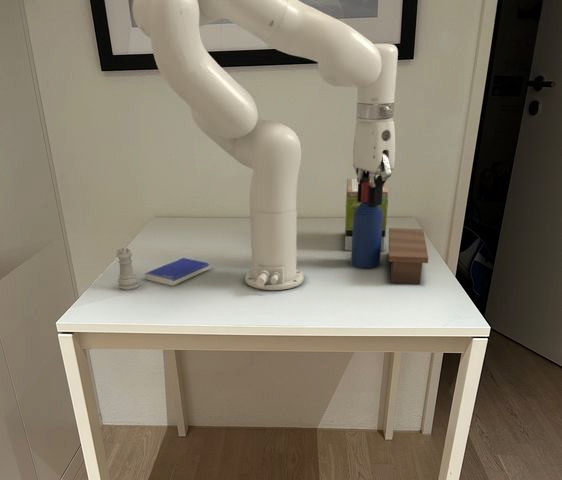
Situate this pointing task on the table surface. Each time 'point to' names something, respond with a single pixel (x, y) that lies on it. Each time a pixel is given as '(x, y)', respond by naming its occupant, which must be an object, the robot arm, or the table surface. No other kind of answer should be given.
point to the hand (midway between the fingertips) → (369, 202)
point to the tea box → (353, 204)
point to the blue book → (177, 271)
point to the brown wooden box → (407, 255)
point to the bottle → (367, 236)
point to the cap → (365, 191)
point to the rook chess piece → (126, 271)
